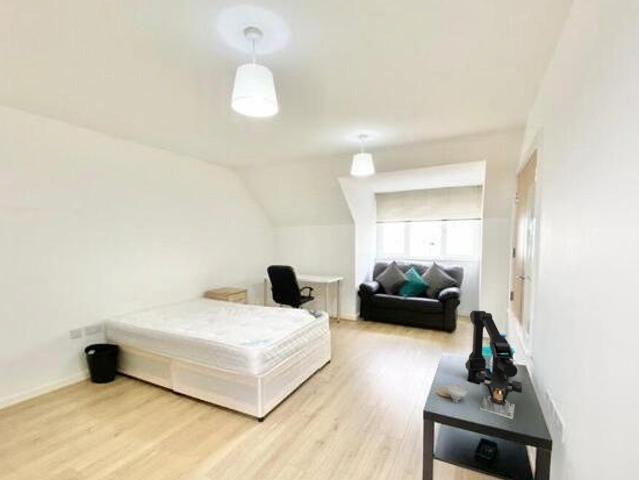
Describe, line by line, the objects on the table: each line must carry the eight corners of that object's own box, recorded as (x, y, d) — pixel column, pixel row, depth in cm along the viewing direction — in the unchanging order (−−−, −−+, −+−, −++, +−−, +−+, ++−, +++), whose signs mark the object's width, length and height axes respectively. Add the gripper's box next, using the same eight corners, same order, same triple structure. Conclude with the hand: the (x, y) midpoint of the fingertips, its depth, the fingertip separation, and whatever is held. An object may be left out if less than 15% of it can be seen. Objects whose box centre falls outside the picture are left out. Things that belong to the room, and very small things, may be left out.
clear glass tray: (480, 409, 149) (480, 402, 149) (484, 397, 160) (484, 390, 159) (512, 419, 142) (512, 411, 141) (514, 406, 152) (514, 399, 152)
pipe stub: (491, 402, 150) (492, 389, 150) (492, 398, 154) (493, 386, 153) (502, 405, 147) (503, 392, 147) (503, 401, 151) (504, 388, 151)
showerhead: (441, 382, 159) (459, 381, 161) (440, 396, 159) (458, 395, 161) (451, 392, 150) (471, 390, 152) (451, 407, 150) (470, 405, 152)
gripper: (474, 367, 149) (473, 400, 149) (521, 379, 138) (520, 414, 139) (478, 359, 158) (477, 391, 158) (523, 370, 147) (521, 403, 148)
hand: (497, 399), depth 150 cm, fingers closed on pipe stub, 4 cm apart
